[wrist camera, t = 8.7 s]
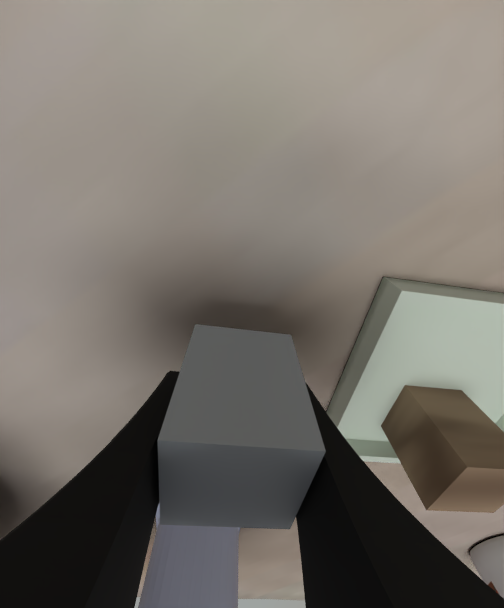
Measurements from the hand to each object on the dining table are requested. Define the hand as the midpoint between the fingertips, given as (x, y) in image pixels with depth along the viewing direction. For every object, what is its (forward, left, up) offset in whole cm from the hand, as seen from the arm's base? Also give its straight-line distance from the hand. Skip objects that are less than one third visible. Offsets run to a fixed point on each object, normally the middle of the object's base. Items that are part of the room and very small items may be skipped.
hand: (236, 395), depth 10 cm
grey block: (0, 0, -2) cm, 2 cm away
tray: (-2, -14, -5) cm, 15 cm away
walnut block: (-5, -13, -4) cm, 14 cm away
